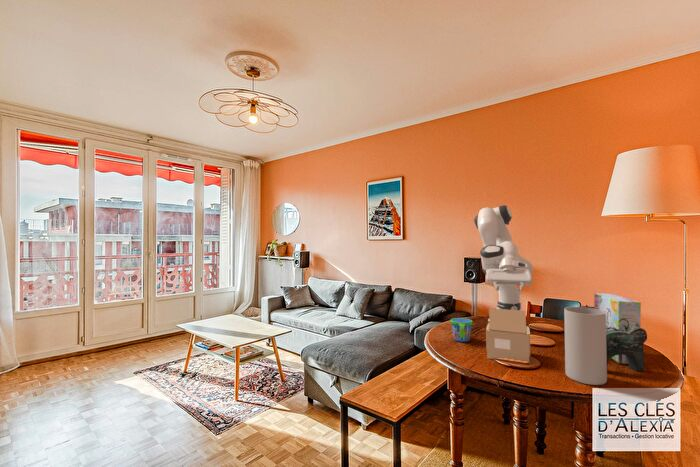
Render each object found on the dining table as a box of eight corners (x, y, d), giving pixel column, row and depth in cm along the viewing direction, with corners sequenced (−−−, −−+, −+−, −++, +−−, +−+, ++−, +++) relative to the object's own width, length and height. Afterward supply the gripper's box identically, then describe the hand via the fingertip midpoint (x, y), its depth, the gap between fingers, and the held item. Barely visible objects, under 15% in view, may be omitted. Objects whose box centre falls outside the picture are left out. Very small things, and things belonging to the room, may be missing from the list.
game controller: (638, 366, 132) (637, 316, 132) (653, 373, 126) (652, 320, 126) (589, 367, 132) (588, 317, 132) (601, 374, 125) (600, 321, 125)
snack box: (643, 366, 132) (642, 302, 133) (618, 364, 135) (617, 301, 135) (614, 348, 153) (613, 292, 154) (593, 347, 156) (592, 292, 156)
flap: (489, 308, 145) (489, 308, 145) (525, 311, 139) (525, 310, 139) (489, 329, 143) (489, 329, 143) (526, 333, 137) (526, 333, 136)
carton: (488, 347, 157) (488, 322, 157) (529, 352, 149) (528, 326, 149) (486, 358, 143) (485, 330, 143) (530, 364, 135) (530, 335, 136)
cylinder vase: (593, 388, 114) (591, 316, 114) (557, 375, 125) (556, 308, 125) (614, 382, 119) (613, 312, 119) (578, 369, 130) (577, 305, 130)
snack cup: (452, 334, 177) (452, 315, 177) (473, 336, 173) (473, 317, 173) (449, 343, 163) (449, 323, 163) (472, 346, 159) (471, 325, 159)
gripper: (485, 263, 169) (484, 285, 160) (531, 264, 159) (532, 287, 150) (486, 271, 172) (485, 293, 164) (531, 272, 163) (532, 295, 154)
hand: (508, 290), depth 157 cm, fingers open, 8 cm apart
